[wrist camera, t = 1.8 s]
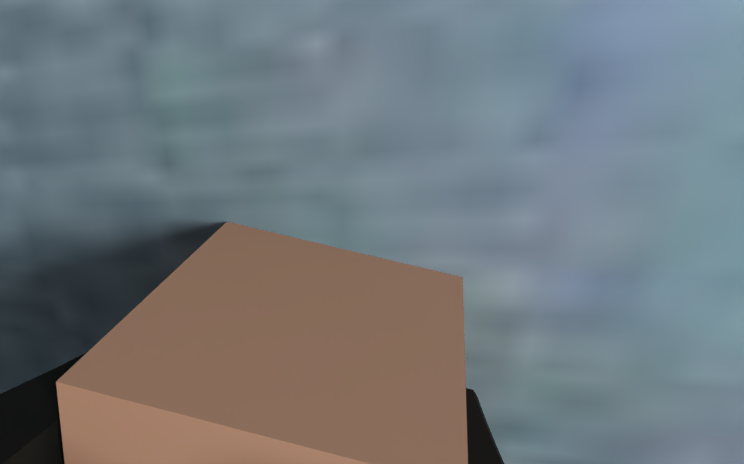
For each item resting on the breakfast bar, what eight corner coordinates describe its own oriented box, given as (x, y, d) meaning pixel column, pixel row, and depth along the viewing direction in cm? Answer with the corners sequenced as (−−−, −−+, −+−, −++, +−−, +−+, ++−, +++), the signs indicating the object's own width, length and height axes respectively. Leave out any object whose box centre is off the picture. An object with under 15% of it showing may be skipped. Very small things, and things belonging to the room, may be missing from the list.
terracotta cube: (409, 451, 12) (384, 707, 8) (214, 400, 13) (81, 619, 8) (462, 277, 10) (468, 489, 6) (227, 221, 11) (55, 381, 6)
